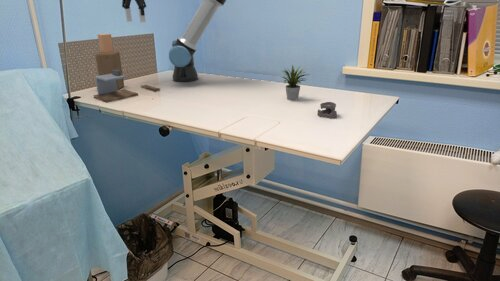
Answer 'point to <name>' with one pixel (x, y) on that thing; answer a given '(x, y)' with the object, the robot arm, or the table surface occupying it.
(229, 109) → the table surface
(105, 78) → the sliding cover
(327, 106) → the dental mold
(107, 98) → the puzzle board
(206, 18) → the robot arm
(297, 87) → the house plant
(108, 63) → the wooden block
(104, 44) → the terracotta block
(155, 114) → the table surface
